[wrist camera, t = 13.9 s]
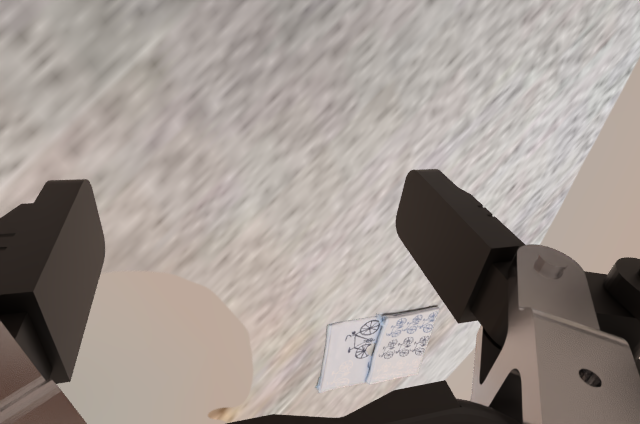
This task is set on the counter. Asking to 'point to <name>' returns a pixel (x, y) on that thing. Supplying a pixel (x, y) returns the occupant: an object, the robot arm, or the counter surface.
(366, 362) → the open sketchbook
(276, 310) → the counter surface
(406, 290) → the counter surface
